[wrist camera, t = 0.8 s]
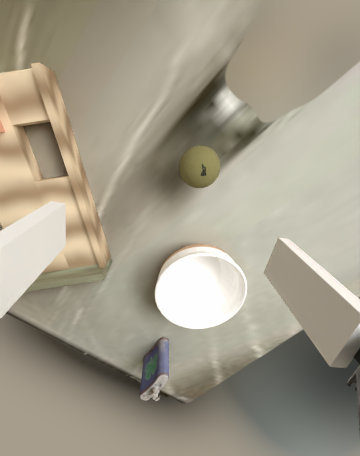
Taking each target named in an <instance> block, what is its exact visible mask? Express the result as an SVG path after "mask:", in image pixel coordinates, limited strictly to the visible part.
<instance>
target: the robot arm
mask: <svg viewBox="0 0 360 456" xmlns="http://www.w3.org/2000/svg"><path fill="white" fill-rule="evenodd" d="M65 246H66V209H65V203H60V202H54V201H51V202H49V203H47V204H45V205H44V206H42V207H40V208H39V209H37V210H35V211H33V212H32V213H30V214H28V215H27V216H25V217H23V218H22V219H20V220H18V221H16V222H15V223H13V224H11V225H10V226H8V227H6V228H4V229H3V230H1V231H0V319H1V318H2V317H3V315H4V314H5V313H6V312H7V311H8V310H9V309H10V308H11V307H12V305H13V304H14V303H15V302H16V301H17V300H18V299H19V298H20V296H21V295H22V294H23V293H24V292H25V291H26V290H27V289H28V288H29V286H30V285H31V284H32V283H33V282H34V281H35V280H36V279H37V277H38V276H39V275H40V274H41V273H42V272H43V271H44V270H45V269H46V267H47V266H48V265H49V264H50V263H51V262H52V261H53V260H54V258H55V257H56V256H57V255H58V254H59V253H60V252H61V251H62V250H63V248H64V247H65ZM264 274H265V275H266V277H267V278H268V279H269V281H270V282H271V284H272V285H273V286H274V288H275V289H276V291H277V292H278V294H279V295H280V296H281V298H282V299H283V301H284V302H285V304H286V305H287V306H288V308H289V309H290V311H291V312H292V313H293V315H294V316H295V318H296V319H297V321H298V322H299V323H300V325H301V326H302V328H303V329H304V330H305V332H306V333H307V335H308V336H309V338H310V339H311V340H312V342H313V343H314V344H315V346H316V348H317V349H318V350H319V352H320V353H321V355H322V356H323V357H324V359H325V360H326V362H327V363H328V365H329V366H330V367H342V368H346V367H347V366H348V365H349V363H350V362H351V361H352V359H353V358H355V359H356V360H357V362H358V363H359V364H360V300H359V299H358V298H357V297H356V296H355V295H354V294H353V293H351V292H350V291H349V290H348V289H347V288H346V287H344V286H343V285H342V284H341V283H340V282H338V281H337V280H336V279H335V278H334V277H333V276H331V275H330V274H329V273H328V272H327V271H326V270H324V269H323V268H322V267H321V266H320V265H319V264H317V263H316V262H315V261H314V260H313V259H312V258H310V257H309V256H308V255H307V254H306V253H305V252H303V251H302V250H301V249H300V248H299V247H298V246H296V245H295V244H294V243H293V242H292V241H291V240H289V239H285V238H278V239H277V242H276V244H275V247H274V249H273V252H272V254H271V256H270V259H269V261H268V264H267V266H266V269H265V271H264ZM352 383H356V384H357V386H356V388H355V390H356V391H357V399H358V415H359V430H360V366H359V367H358V368H357V370H356V371H355V373H354V374H353V375H352V376H351V378H350V379H349V380H348V382H347V385H348V386H351V384H352Z"/></svg>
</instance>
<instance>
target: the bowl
mask: <svg viewBox="0 0 360 456" xmlns="http://www.w3.org/2000/svg"><path fill="white" fill-rule="evenodd" d="M246 293H247V282H246V278H245V275H244V273H243V272H242V270H241V269H240V267H239V266H238V265H237V264H236V263H235V262H234V261H233V259H232V258H231V257H230V256H229V255H228V254H226V253H225V252H224V251H223V250H221V249H219V248H217V247H214V246H211V245H205V244H194V245H189V246H186V247H183V248H181V249H179V250H177V251H176V252H174V253H172V254H171V255H170V256H169V257H168V258H167V259H166V261H165V262H164V264H163V265H162V268H161V270H160V273H159V276H158V281H157V283H156V287H155V301H156V304H157V307H158V309H159V310H160V312H161V313H162V314H163V315H164V316H165V318H166V319H168V320H169V321H171V322H172V323H174V324H176V325H178V326H181V327H185V328H190V329H205V328H210V327H214V326H216V325H219V324H221V323H223V322H225V321H227V320H228V319H230V318H231V317H232V316H234V315H235V314H236V313H237V311H238V310H239V309H240V308H241V306H242V304H243V303H244V300H245V297H246Z"/></svg>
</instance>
